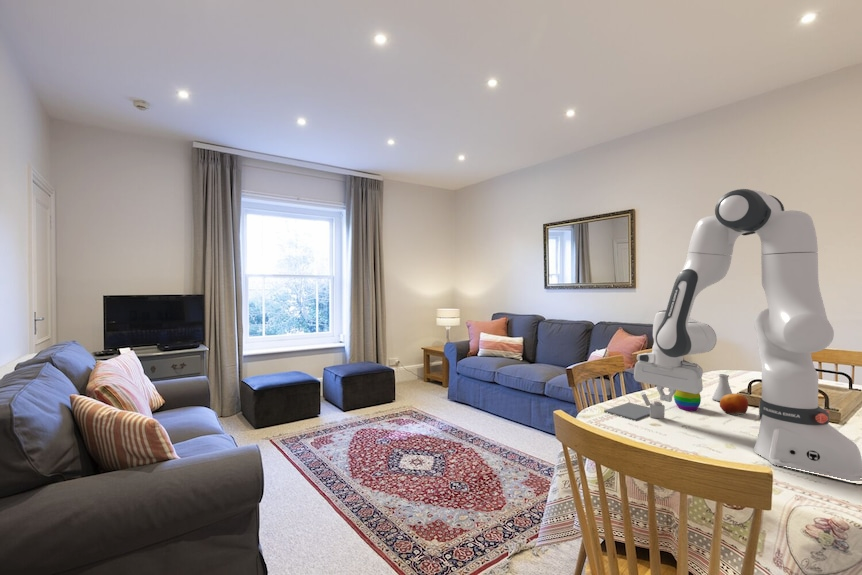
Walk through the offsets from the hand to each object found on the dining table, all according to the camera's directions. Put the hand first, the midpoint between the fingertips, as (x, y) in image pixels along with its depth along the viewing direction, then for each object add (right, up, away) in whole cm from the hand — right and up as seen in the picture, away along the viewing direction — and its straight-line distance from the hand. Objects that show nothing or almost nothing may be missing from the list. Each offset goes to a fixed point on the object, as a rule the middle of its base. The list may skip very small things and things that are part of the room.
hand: (665, 400), depth 135 cm
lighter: (-3, -7, +4) cm, 8 cm away
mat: (-7, -7, +9) cm, 13 cm away
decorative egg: (+15, -7, +13) cm, 21 cm away
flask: (+35, -6, +22) cm, 42 cm away
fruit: (+28, -7, +7) cm, 30 cm away
